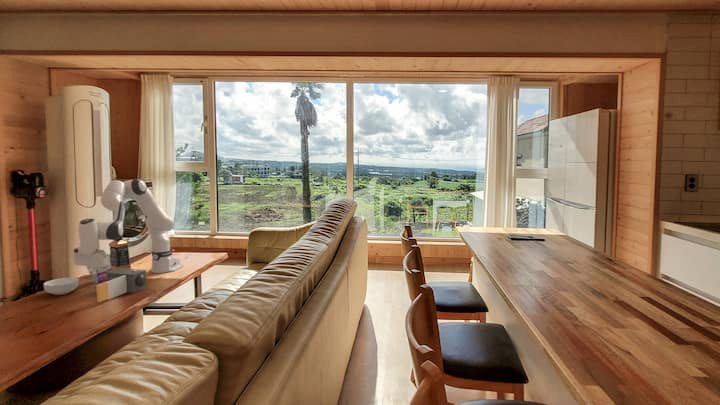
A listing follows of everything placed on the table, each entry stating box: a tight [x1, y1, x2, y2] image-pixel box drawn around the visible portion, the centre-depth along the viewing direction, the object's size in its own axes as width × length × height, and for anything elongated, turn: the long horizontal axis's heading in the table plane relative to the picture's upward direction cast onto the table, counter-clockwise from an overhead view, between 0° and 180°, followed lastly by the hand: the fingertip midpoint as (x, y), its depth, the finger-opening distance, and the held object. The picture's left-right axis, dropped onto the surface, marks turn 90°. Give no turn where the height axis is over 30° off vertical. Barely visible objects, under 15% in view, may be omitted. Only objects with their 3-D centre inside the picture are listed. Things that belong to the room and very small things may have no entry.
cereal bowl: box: [43, 277, 80, 296], centre depth 239 cm, size 17×17×7 cm
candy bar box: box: [91, 253, 112, 284], centre depth 262 cm, size 11×5×16 cm, turn 168°
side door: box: [95, 275, 128, 303], centre depth 230 cm, size 20×2×10 cm, turn 167°
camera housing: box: [105, 268, 148, 294], centre depth 246 cm, size 10×22×12 cm, turn 74°
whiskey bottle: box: [108, 235, 132, 270], centre depth 284 cm, size 10×10×32 cm
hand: (92, 273), depth 224 cm, fingers closed
